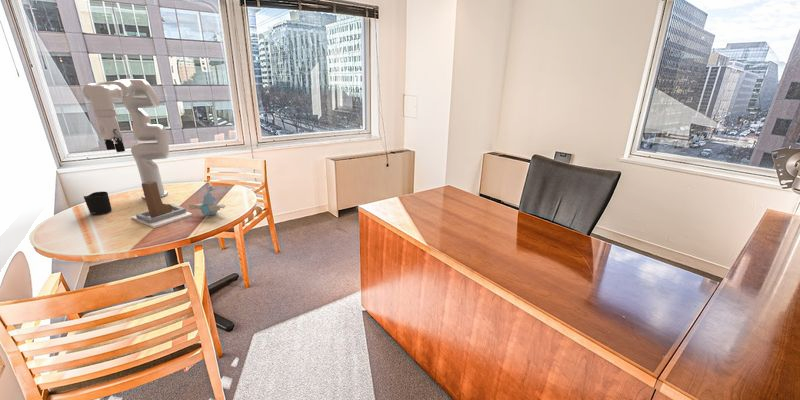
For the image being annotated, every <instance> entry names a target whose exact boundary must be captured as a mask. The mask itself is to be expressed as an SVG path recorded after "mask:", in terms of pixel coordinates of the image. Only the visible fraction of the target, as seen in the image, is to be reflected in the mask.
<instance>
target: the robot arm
mask: <svg viewBox="0 0 800 400" xmlns="http://www.w3.org/2000/svg"><path fill="white" fill-rule="evenodd" d="M82 94H83V96H84V97H85V99H86V100H88V101H89V102H90V103H91V106H92V110H93V113H94V115H95V116H94V117H95V118H96V122H97V127H98V130H99V131H98V132H99V135H100V136H99V137H101V139H103V141H104V145H105V147H106V150H107V151H110V150H111V151H112V150H115V151H116V153H122V152H124V153H125V152H126V149H125V146H124V141H123V137H122V132H121V129H120V126H119V123H118V120H117V117H118V116H117V112H116V109H115V105H114V102H119V101H122V104H123V106H124V107H125V109H126V110H127V111H128V113H129V115H130V117H131V120H132V132H133V138H134V139H135V140H136V141H138V142H140V143H136V144H133V145H132V146H131V147H130V148H131V149H130V151H131V155H132V157H133V159H134V161H135V163H136V166H137V170H138V173H139V174H138V175H139V177H140V181H141V184H142V183H145V182H148V181H152V182H157V186H158V190H159V194H160V198H163V197H166V196H168V195H169V194H168V193H169V192H168V191H167V190H165V188H164V185H163V181H162V177H161V176H162V175H161V173H160V167H159V166H158V164H157V163H156V162H155V161H154V160H165V159H168V157H169V156H170V150H169V149H170V148H169V146H170V145H169V135H168V131H167V129H166V126H164V125H162V124H152V119H151V116H150V115H149V114H148V113H147V112H146V111H145V110H143V109H155V108H158V107H159V106H160V104H161V103H160V99H159V96H158V93H156V92H155V90H154V88H153V87H152V86H151V84H150V83H149V82H148V81H147V80H145V79H141V78H139V79H133V78H124V79H123V78H122V79H118V80H114V81H113V80H112V81H111V80H110V81H103V82H93V83H87V84H85V85H84V86H83V87H82ZM141 142H142V143H141ZM141 197H142V199H144V200H146V199H145V195H144V194H142V195H141Z"/></svg>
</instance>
